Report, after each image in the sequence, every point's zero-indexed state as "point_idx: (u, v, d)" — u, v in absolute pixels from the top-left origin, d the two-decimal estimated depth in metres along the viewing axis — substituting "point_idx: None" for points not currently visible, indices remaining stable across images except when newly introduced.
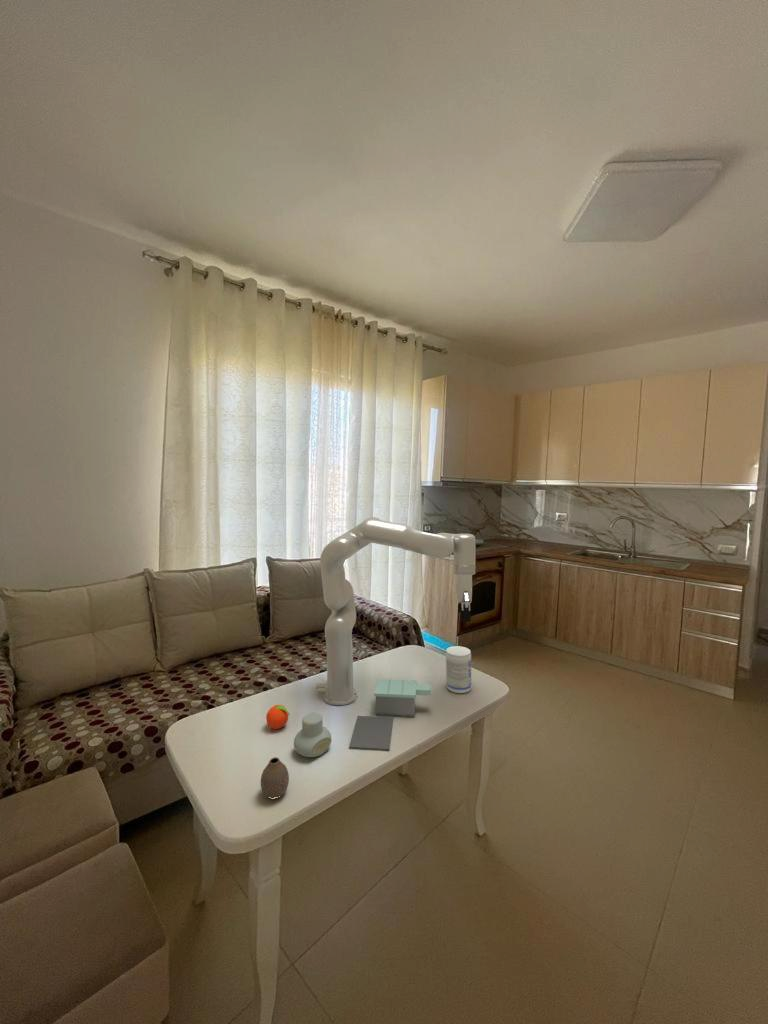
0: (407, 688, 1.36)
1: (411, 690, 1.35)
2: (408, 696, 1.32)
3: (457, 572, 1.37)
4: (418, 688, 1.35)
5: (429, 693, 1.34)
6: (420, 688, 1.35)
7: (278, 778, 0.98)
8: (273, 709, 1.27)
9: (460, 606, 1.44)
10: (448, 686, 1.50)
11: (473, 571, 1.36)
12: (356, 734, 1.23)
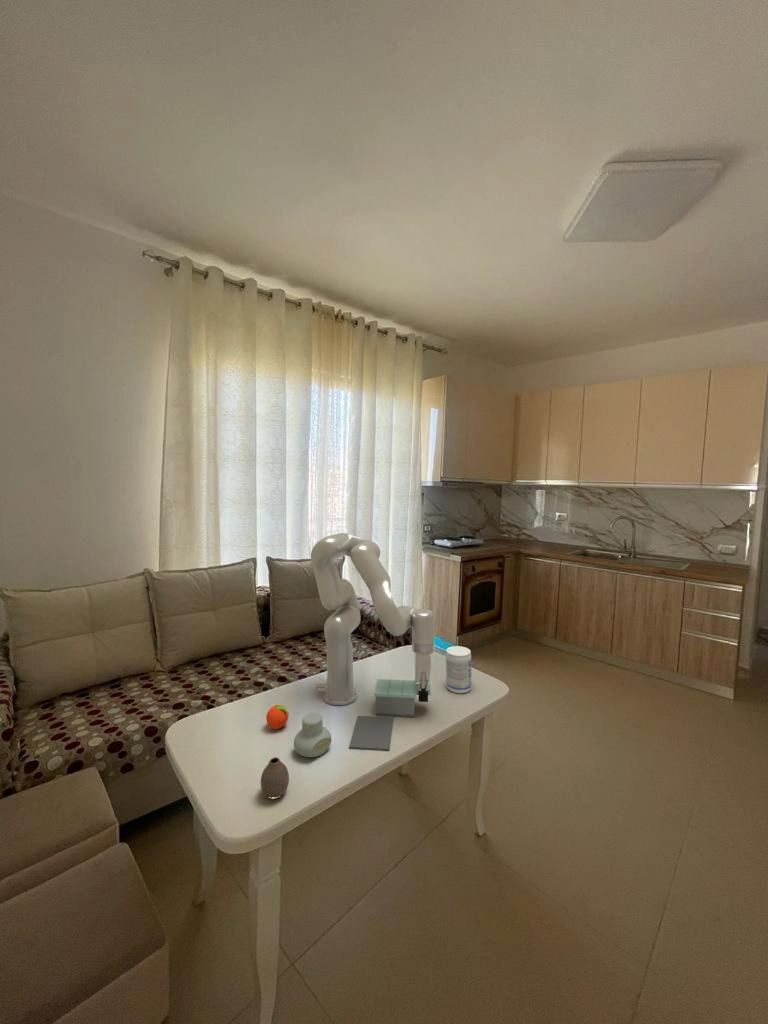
0: (407, 688, 1.36)
1: (411, 690, 1.35)
2: (408, 696, 1.32)
3: (415, 650, 1.33)
4: (418, 688, 1.35)
5: (429, 693, 1.34)
6: None
7: (278, 778, 0.98)
8: (273, 709, 1.27)
9: None
10: (448, 686, 1.50)
11: (431, 650, 1.33)
12: (356, 734, 1.23)
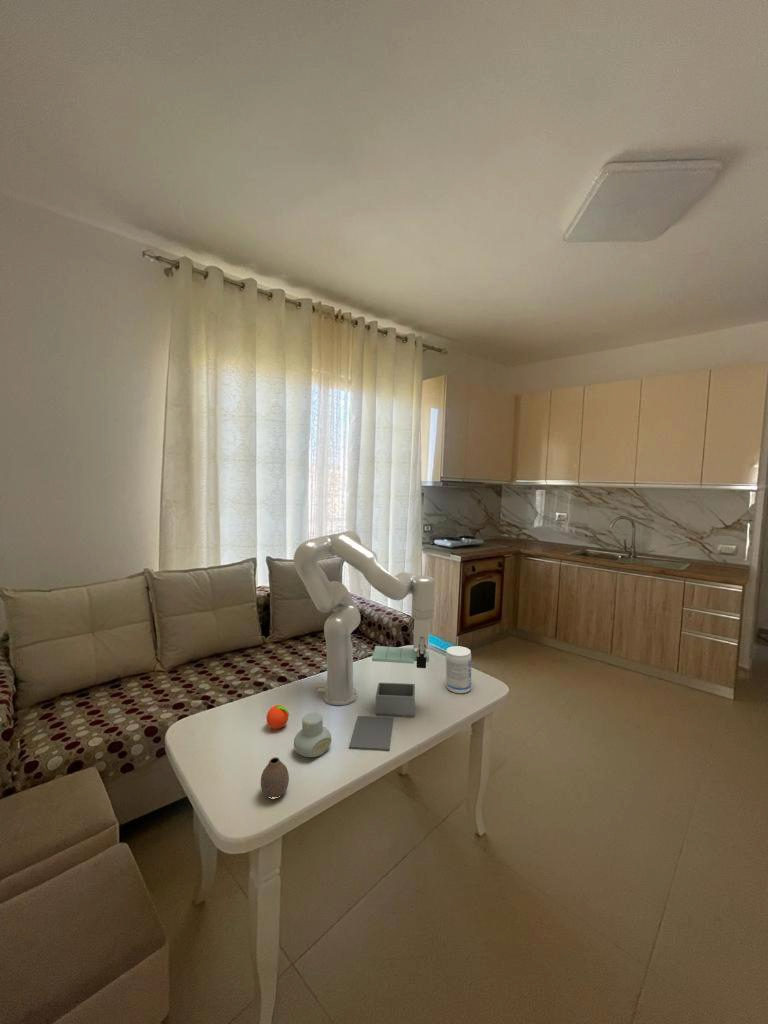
0: (405, 654, 1.36)
1: (409, 656, 1.34)
2: (406, 661, 1.31)
3: (414, 616, 1.32)
4: (416, 655, 1.35)
5: (427, 660, 1.34)
6: None
7: (278, 778, 0.98)
8: (273, 709, 1.27)
9: None
10: (448, 686, 1.50)
11: (431, 616, 1.32)
12: (356, 734, 1.23)
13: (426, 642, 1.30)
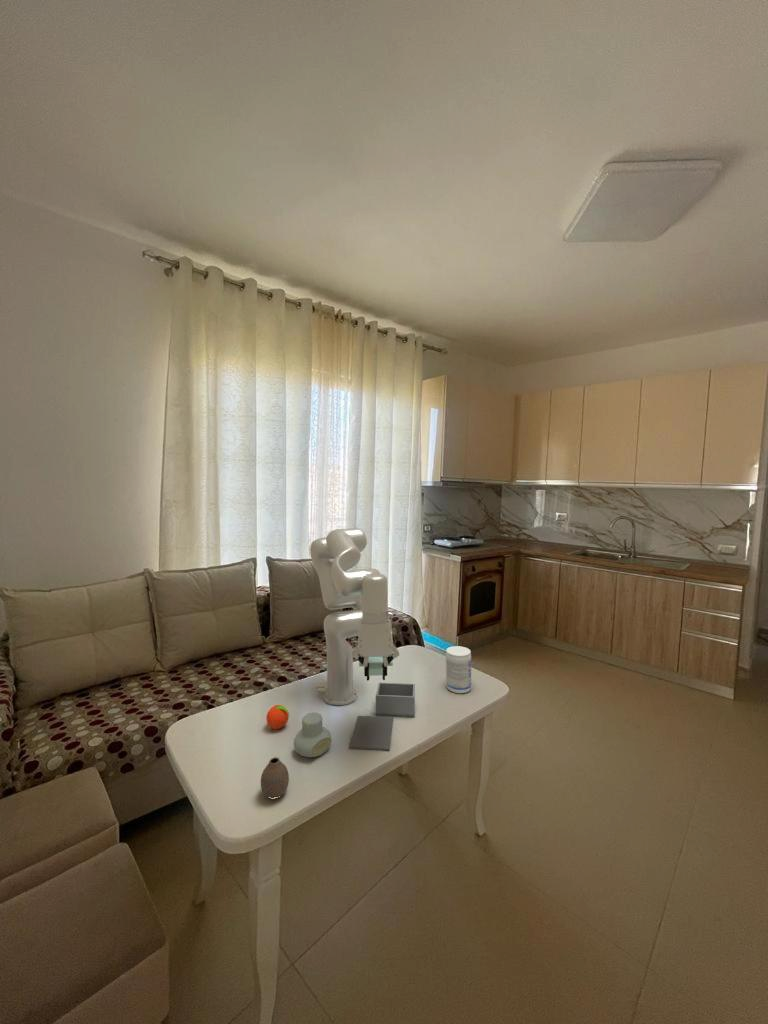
0: (373, 658, 1.21)
1: (369, 660, 1.20)
2: None
3: None
4: (372, 663, 1.17)
5: None
6: (372, 664, 1.17)
7: (278, 778, 0.98)
8: (273, 709, 1.27)
9: None
10: (448, 686, 1.50)
11: (366, 621, 1.12)
12: (356, 734, 1.23)
13: (358, 647, 1.14)
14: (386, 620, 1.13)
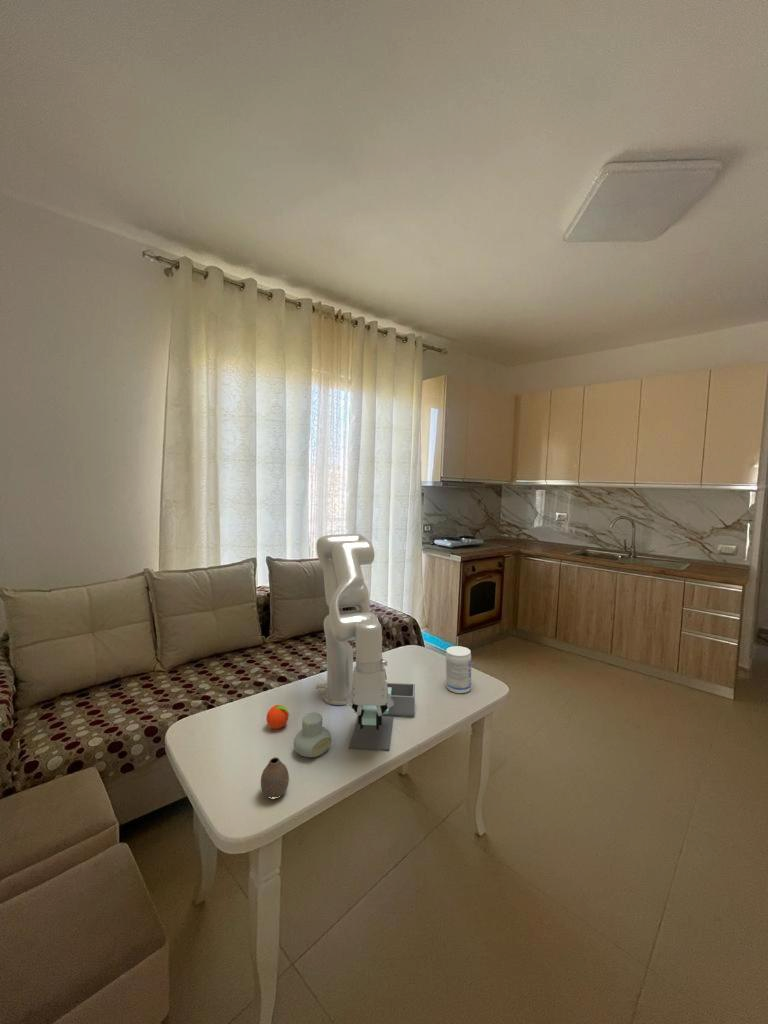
0: None
1: (365, 707, 1.18)
2: None
3: None
4: (367, 710, 1.16)
5: (362, 721, 1.12)
6: (366, 711, 1.15)
7: (278, 778, 0.98)
8: (273, 709, 1.27)
9: None
10: (448, 686, 1.50)
11: (359, 669, 1.11)
12: (356, 734, 1.23)
13: (351, 695, 1.13)
14: (380, 669, 1.11)
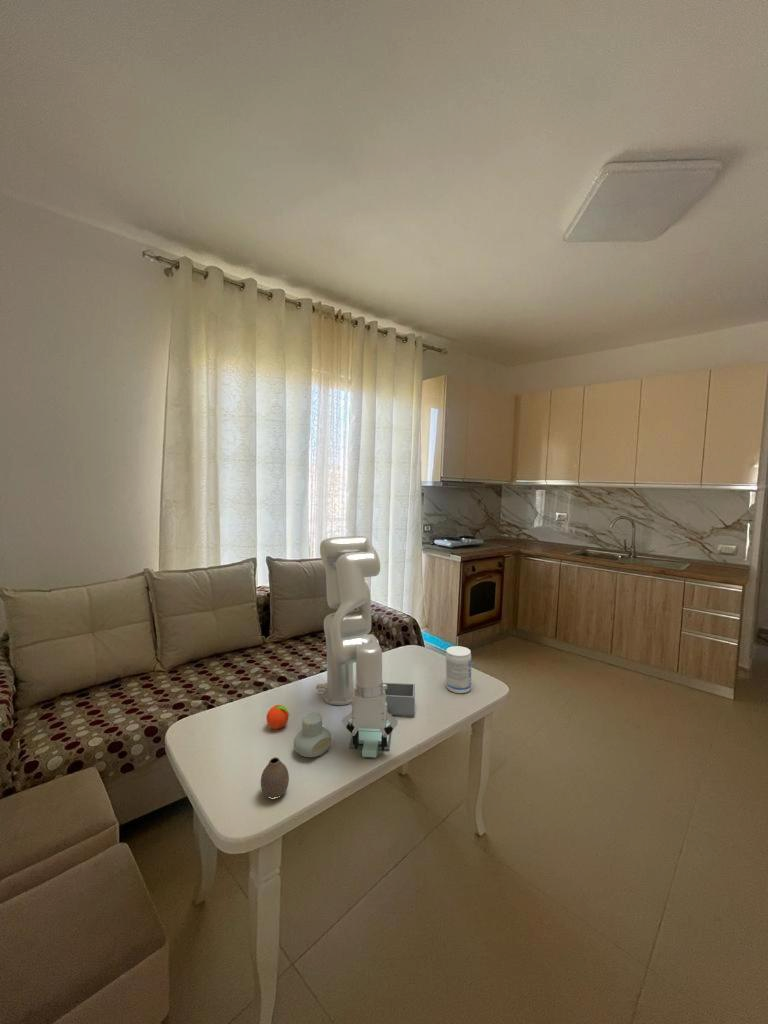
0: (369, 734, 1.20)
1: (365, 737, 1.19)
2: None
3: None
4: (367, 741, 1.17)
5: (362, 753, 1.13)
6: (367, 743, 1.16)
7: (278, 778, 0.98)
8: (273, 709, 1.27)
9: None
10: (448, 686, 1.50)
11: (359, 693, 1.11)
12: None
13: None
14: (380, 693, 1.12)
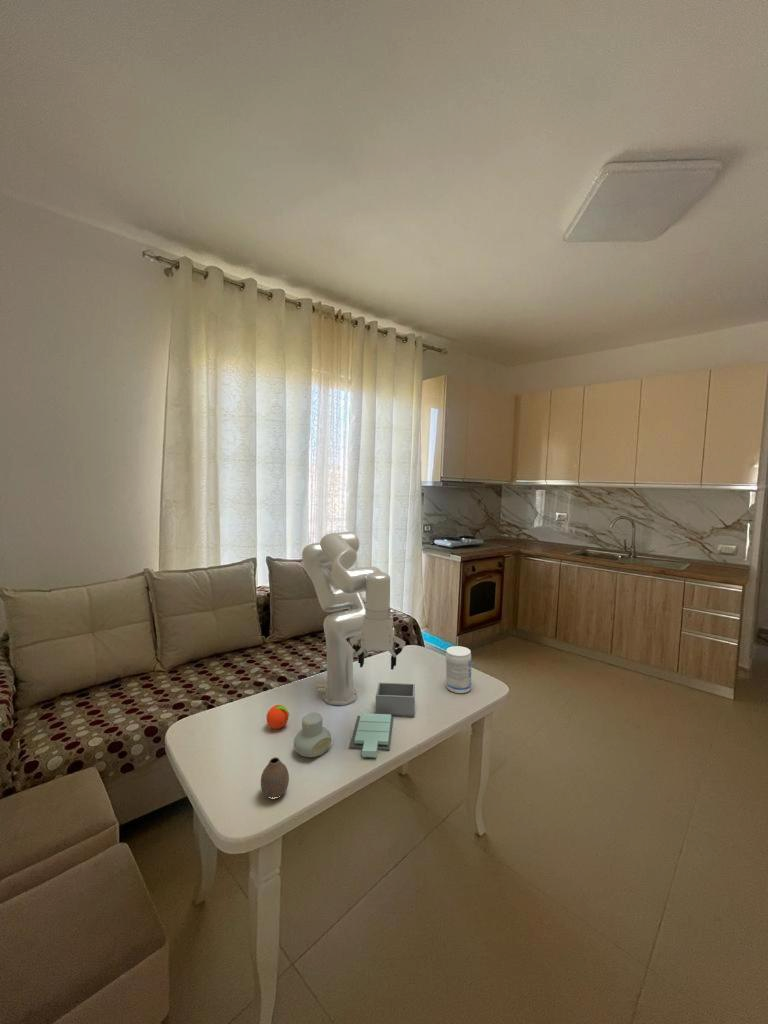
0: (369, 734, 1.20)
1: (365, 737, 1.19)
2: None
3: None
4: (367, 741, 1.17)
5: (362, 753, 1.13)
6: (367, 743, 1.16)
7: (278, 778, 0.98)
8: (273, 709, 1.27)
9: None
10: (448, 686, 1.50)
11: (368, 616, 1.19)
12: None
13: None
14: (387, 617, 1.19)
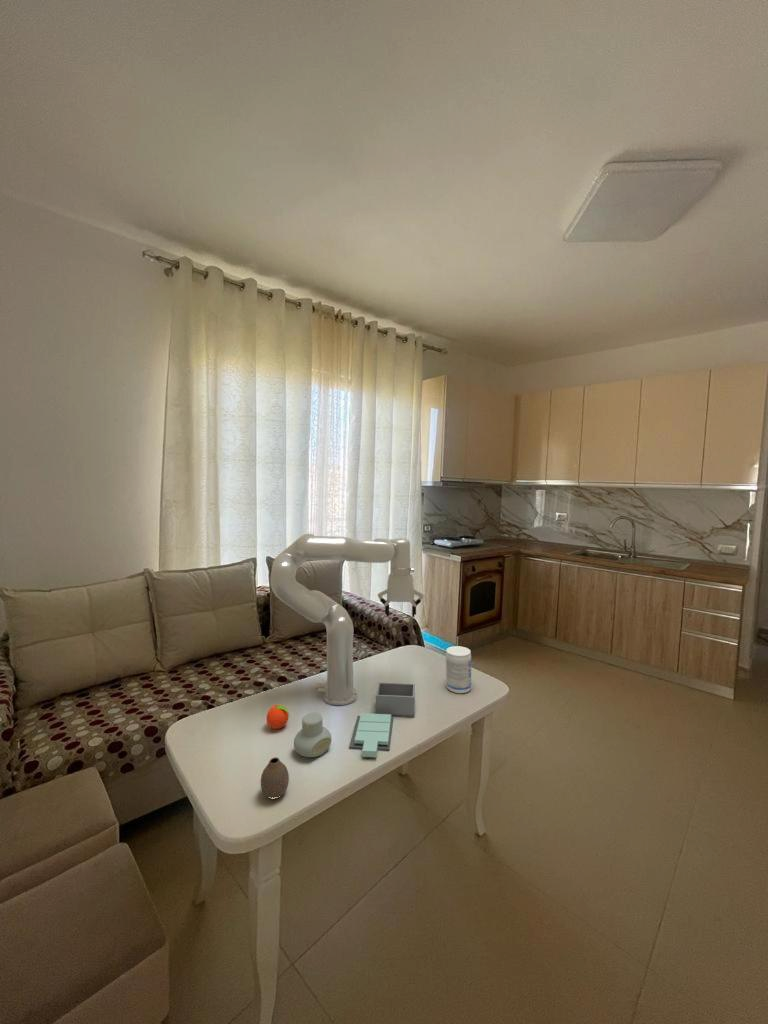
0: (369, 734, 1.20)
1: (365, 737, 1.19)
2: None
3: None
4: (367, 741, 1.17)
5: (362, 753, 1.13)
6: (367, 743, 1.16)
7: (278, 778, 0.98)
8: (273, 709, 1.27)
9: None
10: (448, 686, 1.50)
11: (393, 573, 1.47)
12: None
13: (387, 594, 1.49)
14: (408, 574, 1.47)
